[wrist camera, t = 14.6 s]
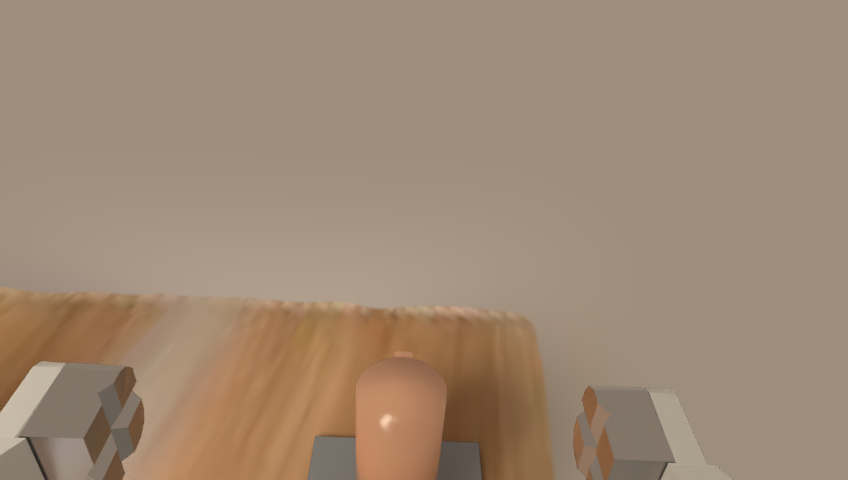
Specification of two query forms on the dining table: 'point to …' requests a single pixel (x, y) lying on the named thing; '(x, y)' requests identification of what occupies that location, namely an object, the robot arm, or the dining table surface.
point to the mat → (338, 460)
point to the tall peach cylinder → (399, 420)
